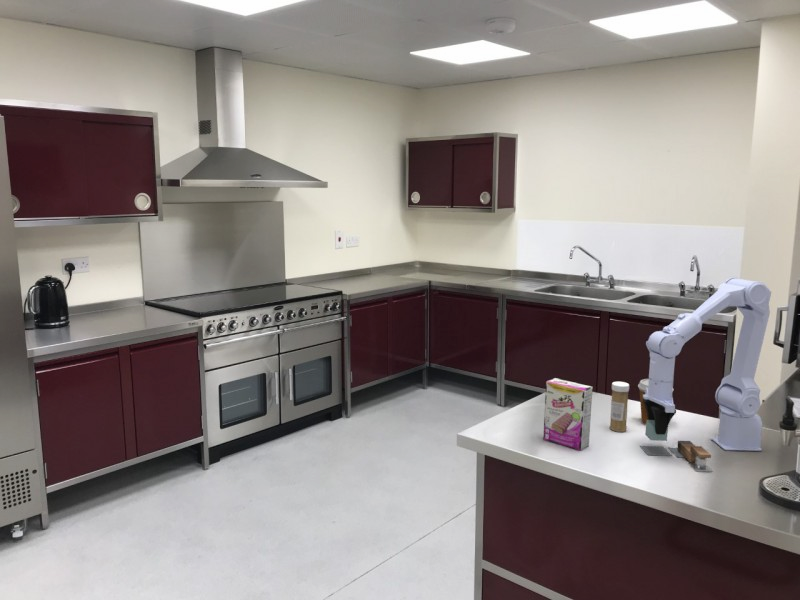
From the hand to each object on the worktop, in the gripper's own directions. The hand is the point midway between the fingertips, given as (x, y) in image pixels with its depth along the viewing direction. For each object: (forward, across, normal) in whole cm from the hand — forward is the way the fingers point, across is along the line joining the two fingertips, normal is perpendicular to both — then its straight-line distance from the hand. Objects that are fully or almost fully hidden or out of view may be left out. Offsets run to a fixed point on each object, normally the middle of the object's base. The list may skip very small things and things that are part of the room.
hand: (656, 430), depth 159 cm
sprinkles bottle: (+6, -15, -5) cm, 17 cm away
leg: (+5, +6, +7) cm, 11 cm away
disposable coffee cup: (+6, -21, +7) cm, 23 cm away
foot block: (+2, 0, 0) cm, 2 cm away
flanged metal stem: (+6, +10, +7) cm, 13 cm away
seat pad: (+6, 0, 0) cm, 6 cm away
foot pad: (+6, +1, +7) cm, 9 cm away
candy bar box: (+6, -4, -22) cm, 23 cm away
